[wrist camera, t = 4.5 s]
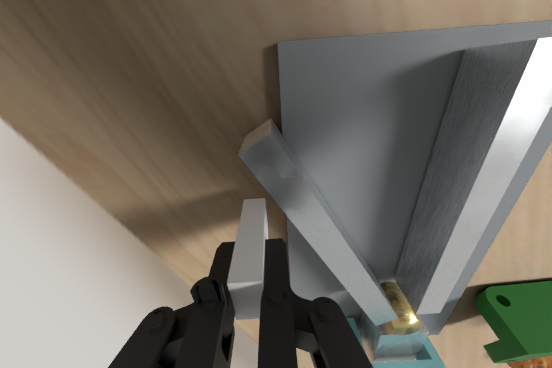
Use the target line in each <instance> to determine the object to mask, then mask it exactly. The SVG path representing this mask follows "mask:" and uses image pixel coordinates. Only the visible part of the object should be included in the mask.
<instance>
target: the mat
mask: <svg viewBox="0 0 552 368" xmlns="http://www.w3.org/2000/svg"><path fill="white" fill-rule="evenodd" d="M543 38H552V20H548V21H535V22H522V23H509V24H496V25H483V26H470V27H457V28H444V29H431V30H418V31H405V32H392V33H379V34H367V35H354V36H341V37H328V38H315V39H302V40H289V41H278V42H277V47H278V66H279V84H280V103H281V122H282V136H283V137H284V139H285V140H286V142H287V143H288V145H289V146H290V148H291V149H292V151H293V152H294V154H295V155H296V157H297V158H298V160H299V161H300V163H301V164H302V166H303V167H304V169H305V170H306V172H307V173H308V175H309V176H310V178H311V179H312V181H313V182H314V184H315V185H316V187H317V188H318V190H319V192H320V193H321V195H322V196H323V198H324V199H325V201H326V202H327V204H328V205H329V207H330V208H331V210H332V211H333V213H334V214H335V216H336V217H337V219H338V220H339V222H340V223H341V225H342V226H343V228H344V229H345V231H346V232H347V234H348V235H349V237H350V238H351V240H352V241H353V243H354V244H355V246H356V247H357V249H358V250H359V252H360V253H361V255H362V256H363V258H364V259H365V261H366V262H367V264H368V265H369V267H370V269H371V270H372V272H373V273H374V275H375V276H376V278H377V279H378V281H379V282H380V284H381V283H384V282H390V281H391V282H395V283H396V281H395V280H394V275H395V272H396V268H397V265H398V262H399V259H400V255H401V252H402V249H403V246H404V243H405V239H406V236H407V233H408V230H409V227H410V223H411V220H412V217H413V214H414V210H415V207H416V204H417V201H418V198H419V194H420V191H421V188H422V185H423V181H424V178H425V175H426V172H427V169H428V165H429V162H430V159H431V156H432V152H433V149H434V146H435V143H436V140H437V136H438V133H439V130H440V127H441V124H442V120H443V117H444V114H445V111H446V107H447V104H448V101H449V98H450V95H451V91H452V88H453V85H454V82H455V78H456V75H457V72H458V69H459V66H460V62H461V59H462V56H463V53H464V50H465V48H473V47H480V46H488V45H496V44H503V43H511V42H518V41H526V40H534V39H543ZM551 142H552V106H551V108H550V110H549V112H548V113H547V115H546V117H545V119H544V121H543V123H542V125H541V126H540V128H539V130H538V132H537V134H536V136H535V138H534V139H533V141H532V143H531V145H530V147H529V149H528V150H527V152H526V154H525V156H524V158H523V160H522V162H521V163H520V165H519V167H518V169H517V171H516V173H515V175H514V176H513V178H512V180H511V182H510V184H509V186H508V188H507V189H506V191H505V193H504V195H503V197H502V199H501V201H500V202H499V204H498V206H497V208H496V210H495V212H494V214H493V215H492V217H491V219H490V221H489V223H488V225H487V226H486V228H485V230H484V232H483V234H482V236H481V238H480V239H479V241H478V243H477V245H476V247H475V249H474V251H473V252H472V254H471V256H470V258H469V260H468V262H467V264H466V265H465V267H464V269H463V271H462V273H461V275H460V277H459V278H458V280H457V282H456V284H455V286H454V288H453V290H452V291H451V293H450V295H449V297H448V299H447V301H446V303H445V304H444V306H443V308H442V310H441V312H440V313H432V314H419V316H420V318H421V319H422V321H423V323H424V324H425V326H426V327H427V329H428V331H429V334H428V335H438V334H439V333H440V331H441V330H442V328H443V326H444V325H445V323H446V321H447V319H448V318H449V316H450V314H451V313H452V311H453V309H454V308H455V306H456V304H457V302H458V301H459V299H460V297H461V296H462V294H463V292H464V290H465V289H466V287H467V285H468V284H469V282H470V280H471V278H472V277H473V275H474V273H475V272H476V270H477V268H478V267H479V265H480V263H481V261H482V260H483V258H484V256H485V255H486V253H487V251H488V249H489V248H490V246H491V244H492V243H493V241H494V239H495V237H496V236H497V234H498V232H499V231H500V229H501V227H502V225H503V224H504V222H505V220H506V219H507V217H508V215H509V214H510V212H511V210H512V208H513V207H514V205H515V203H516V202H517V200H518V198H519V196H520V195H521V193H522V191H523V190H524V188H525V186H526V184H527V183H528V181H529V179H530V178H531V176H532V174H533V173H534V171H535V169H536V167H537V166H538V164H539V162H540V161H541V159H542V157H543V155H544V154H545V152H546V150H547V149H548V147H549V145H550V143H551ZM286 217H287V215H286ZM287 235H288V254H289V273H290V287H291V289H292V291H293V292H294V293H295V294H296V295H298V296H299V297H301V298H304V299H308V300H311V301H313V300H314V299H316V298H318V297H328V298H331V299H332V300H334V301H335V302H336V303H337V304H338V305H339V306H340V308H341V310H342V311H343V313H344V315H345V317H346V319H347V318H354V320H355V323H356V326H357V329H358V327H359V322H360V318H361V314H362V308H361V307H360V306H359V304H358V303H357V302H356V301H355V299H354V298H353V297H352V296H351V295H350V293H349V292H348V291H347V290H346V288H345V287H344V286H343V285H342V283H341V282H340V281H339V280H338V278H337V277H336V276H335V275H334V274H333V272H332V271H331V270H330V269H329V267H328V266H327V265H326V264H325V262H324V261H323V260H322V259H321V257H320V256H319V255H318V254H317V252H316V251H315V250H314V249H313V248H312V246H311V245H310V244H309V243H308V241H307V240H306V239H305V238H304V236H303V235H302V234H301V233H300V231H299V230H298V229H297V228H296V227H295V225H294V224H293V223H292V222H291V220H290V219H289V218H288V217H287Z"/></svg>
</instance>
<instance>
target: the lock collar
mask: <svg viewBox="0 0 552 368" xmlns="http://www.w3.org/2000/svg"><path fill="white" fill-rule="evenodd" d="M347 321H348V322H349V324H350V326H351V328H352V330H353V331H354V333H355V335H356V337H357V339H358V341H359V342H360V344H361V346H362V348H363V350H364V352H365V349H364V346H363V343H362V340H361V337H360V334H359V332H358V329H357V326H356V323H355V320H354V318H347ZM365 353H366V352H365ZM416 359H417V360H415V361H400V362H384V363H371V364H372V366H373V368H446V367H445V365H444V363H443V362H442V360H441V358H440V357H439V355H438V353H437V352H436V350H435V348H434V347H433V345H432V343H431V342H430V340H429V338H428V337H427V338H426V340H425V341H424V343H423V345H422V347H421V349H420V351H419V353H418V354H417V356H416Z"/></svg>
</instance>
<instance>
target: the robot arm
mask: <svg viewBox="0 0 552 368" xmlns="http://www.w3.org/2000/svg"><path fill="white" fill-rule="evenodd" d="M190 292H191V294H192V297H193V299H194V303H192V304H190V305H188V306H186V307H183V308H180V309H177V310H175V311H173V309H172V308H170V307H160V308H157V309H155V310H153V311H152V312H150V313H149V314H148V315H147V316H146V317H145V318H144V319H143V321H142V322H141V323H140V325H139V326H138V328H137V329H136V330H135V331H134V333H133V334H132V336H131V337H130V338H129V340H128V341H127V343H126V344H125V345H124V346H123V348H122V349H121V351H120V352H119V353H118V355H117V356H116V358H115V359H114V360H113V361H112V363H111V364H110V366H109V367H108V368H230V364H231V357H232V349H233V342H234V334H235V332H234V325H233V324H234V317H236V320H239V319H256V318H260V327H259V350H258V351H259V352H258V368H298V365H297V355H296V348H299V349H301V350H304V351H307V352H310V355H311V358H312V361H313V364H314V367H315V368H373V366H372V364H371V362H370V361H369V359H368V357H367V355H366V353H365V352H364V350H363V348H362V346H361V344H360V342H359V341H358V339H357V337H356V335H355V333H354V331H353V330H352V328H351V326H350V324H349V322H348V321H347V319H346V317H345V315H344V313H343V311H342V310H341V308H340V306H339V305H338V304H337V303H336V302H335V301H334V300H332V299H331V298H328V297H318V298H316V299H314V300H313V301H311V300H308V299H304V298H301V297H299V296H298V295H296V294H295V293H294V292H293V291H292V289H291V287H290V283H289V273H288V262H287V251H286V244H285V242H284V241H283V239H282V238H279V239H268V221H267V211H266V200H265V198H260V199H244V202H243V207H242V212H241V217H240V222H239V227H238V232H237V236H236V241H235V242H222V243H221V245H220V246H219V247H218V248H217V250H216V253H215V257H214V260H213V264H212V267H211V270H210V273H209V276H208V277H204V278H202V279H201V280H199V281H197V282H196V283H195V284H194V285H193V287H192V289H191V290H190Z"/></svg>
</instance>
